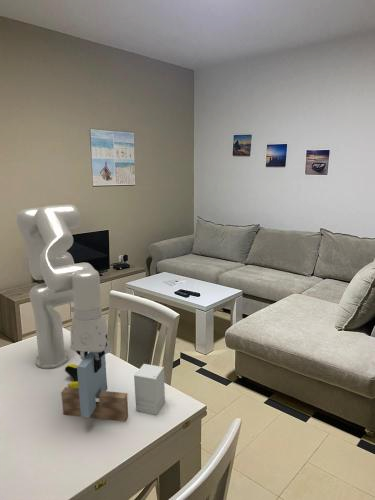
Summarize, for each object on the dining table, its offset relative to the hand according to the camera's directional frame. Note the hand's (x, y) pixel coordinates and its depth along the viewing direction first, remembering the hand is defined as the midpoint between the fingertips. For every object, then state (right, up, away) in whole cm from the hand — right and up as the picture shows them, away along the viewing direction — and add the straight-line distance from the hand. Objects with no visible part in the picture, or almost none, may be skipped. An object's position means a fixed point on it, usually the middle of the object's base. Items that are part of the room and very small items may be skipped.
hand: (92, 369), depth 113 cm
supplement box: (+16, -15, +8) cm, 24 cm away
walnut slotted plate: (0, -15, +4) cm, 16 cm away
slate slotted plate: (0, -11, +3) cm, 11 cm away
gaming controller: (-9, -12, +20) cm, 25 cm away
